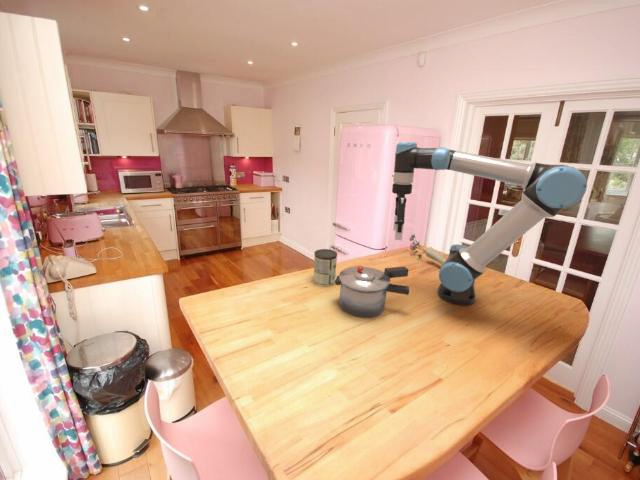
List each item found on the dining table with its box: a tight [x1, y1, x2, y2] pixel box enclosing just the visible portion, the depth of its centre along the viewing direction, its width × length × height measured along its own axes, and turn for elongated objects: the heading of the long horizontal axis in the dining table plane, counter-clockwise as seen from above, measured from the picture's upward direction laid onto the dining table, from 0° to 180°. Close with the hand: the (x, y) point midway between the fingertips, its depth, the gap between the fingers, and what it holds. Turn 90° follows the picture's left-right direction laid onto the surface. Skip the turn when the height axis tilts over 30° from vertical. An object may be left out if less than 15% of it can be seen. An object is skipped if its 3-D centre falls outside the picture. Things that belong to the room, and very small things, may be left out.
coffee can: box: [313, 248, 338, 287], centre depth 136 cm, size 10×10×14 cm
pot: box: [334, 275, 410, 319], centre depth 118 cm, size 28×18×11 cm, turn 77°
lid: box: [338, 265, 409, 292], centre depth 117 cm, size 28×20×5 cm
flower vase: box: [409, 234, 447, 266], centre depth 165 cm, size 12×12×35 cm
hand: (397, 234), depth 124 cm, fingers open, 13 cm apart
